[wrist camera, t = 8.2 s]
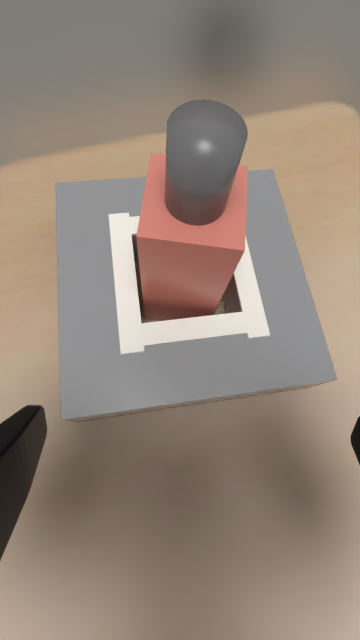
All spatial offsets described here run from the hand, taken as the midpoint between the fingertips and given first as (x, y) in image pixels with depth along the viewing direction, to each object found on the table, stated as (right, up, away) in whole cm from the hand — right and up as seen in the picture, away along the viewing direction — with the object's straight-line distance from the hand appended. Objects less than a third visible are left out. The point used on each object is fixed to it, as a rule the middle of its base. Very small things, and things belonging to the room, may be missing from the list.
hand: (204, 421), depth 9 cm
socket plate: (-1, +5, +12) cm, 12 cm away
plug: (-1, +5, +12) cm, 13 cm away
